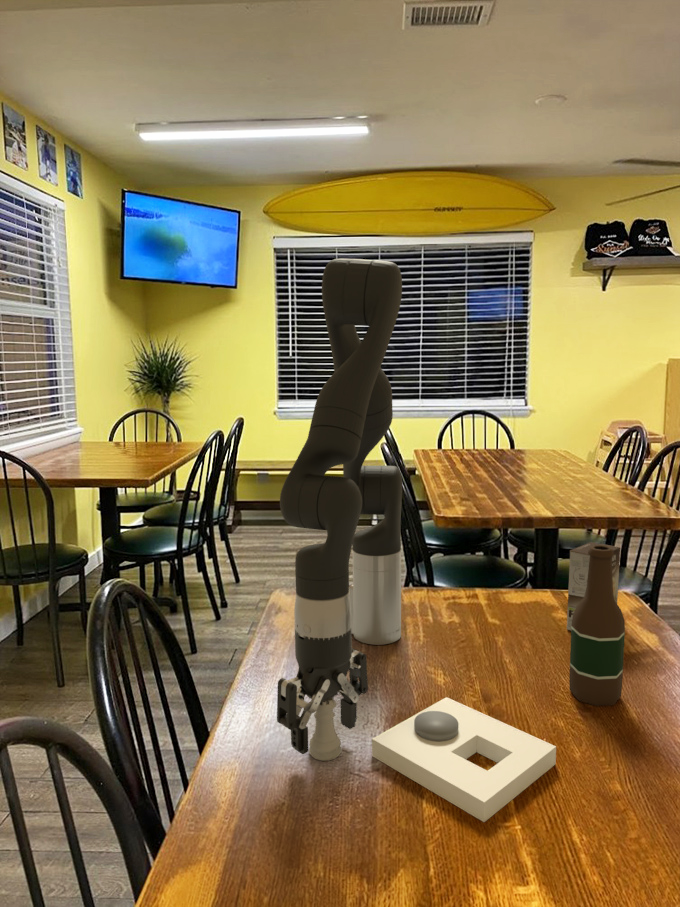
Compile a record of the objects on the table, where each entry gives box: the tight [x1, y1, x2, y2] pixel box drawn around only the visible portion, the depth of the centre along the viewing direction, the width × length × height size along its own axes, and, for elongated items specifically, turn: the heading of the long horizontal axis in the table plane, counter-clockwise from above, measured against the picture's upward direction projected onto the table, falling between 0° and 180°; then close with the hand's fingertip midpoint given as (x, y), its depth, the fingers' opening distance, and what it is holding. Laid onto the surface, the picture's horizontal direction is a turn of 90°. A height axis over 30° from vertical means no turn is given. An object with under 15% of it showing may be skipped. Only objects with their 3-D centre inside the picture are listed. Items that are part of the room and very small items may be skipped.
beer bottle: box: [568, 545, 626, 707], centre depth 103 cm, size 8×8×24 cm
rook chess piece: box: [308, 696, 342, 762], centre depth 90 cm, size 4×4×8 cm
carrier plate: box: [371, 696, 557, 823], centre depth 88 cm, size 18×16×4 cm
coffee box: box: [566, 541, 621, 632], centre depth 130 cm, size 9×6×16 cm
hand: (325, 738), depth 90 cm, fingers open, 8 cm apart
